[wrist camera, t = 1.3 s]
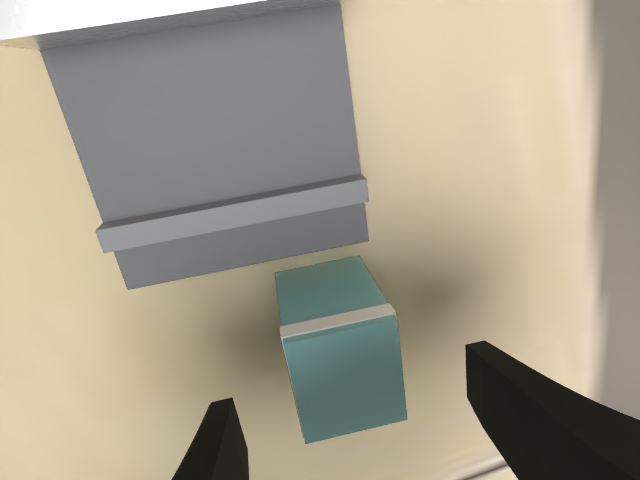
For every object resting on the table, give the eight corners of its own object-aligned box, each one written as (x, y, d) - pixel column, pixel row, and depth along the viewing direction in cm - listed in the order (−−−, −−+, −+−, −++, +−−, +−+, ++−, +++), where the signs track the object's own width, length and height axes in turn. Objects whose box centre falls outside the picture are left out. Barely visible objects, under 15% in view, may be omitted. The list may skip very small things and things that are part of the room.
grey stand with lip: (362, 231, 17) (374, 248, 16) (134, 277, 16) (121, 300, 15) (325, -63, 13) (336, -82, 12) (28, -21, 13) (-6, -36, 11)
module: (371, 337, 19) (408, 420, 14) (291, 354, 19) (304, 445, 14) (360, 253, 18) (398, 317, 13) (273, 271, 17) (281, 343, 13)
